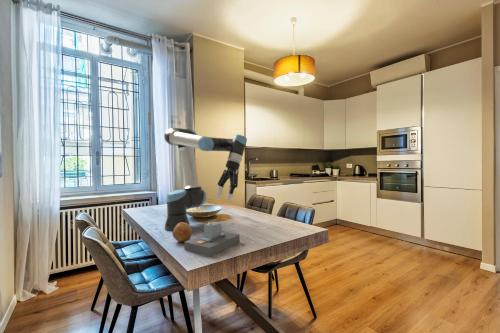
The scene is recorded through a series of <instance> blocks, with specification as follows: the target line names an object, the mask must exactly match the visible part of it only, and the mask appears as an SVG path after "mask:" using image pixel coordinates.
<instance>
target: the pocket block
mask: <svg viewBox="0 0 500 333" xmlns="http://www.w3.org/2000/svg"><path fill="white" fill-rule="evenodd" d="M221 233H225V236H222V238H221V239H219V240H216V241H214V242H208V243H207V242H205V241H201V240H200V239H201V238H203V237H204V234H202V235H199V236H196V237H194V238H190V239H189V240H188V241H184V242H183V243H184V251H187V252H191V253H194V254H197V255H202V256H203V257H204V256H205V257H209V258H211V257H213V256H215V255H217V254H219V253H221V252H222V251H225V250H227V249H229V248H231V247H233V246H235V245H237V244H239V243H241V242H240V241H241V240H240V239H241V237H240V234H239V233H234V232H227V231H223V230H221Z"/></svg>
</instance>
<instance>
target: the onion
mask: <svg viewBox="0 0 500 333" xmlns="http://www.w3.org/2000/svg"><path fill="white" fill-rule="evenodd" d="M192 235H193V228H192V226H191V225H189V224H187V223H184V222H181V223H178V224H177V225H176V226H175V228H174V230H173V231H172V236H173V238H174V239H175V240H176V241H177V242H179V243H184V242H185V241H188V240H191V237H192Z"/></svg>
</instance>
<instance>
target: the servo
mask: <svg viewBox="0 0 500 333" xmlns="http://www.w3.org/2000/svg"><path fill="white" fill-rule="evenodd" d="M221 231H222V222H219V221H218V222H217V221H210V222H207V223H205V224H203V235H204V237H203V238H201V239H200V240H201V241H205V242H207V243H208V242H214V241H216V240H219V239H221V238H222V236H225V233H221Z"/></svg>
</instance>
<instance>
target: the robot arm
mask: <svg viewBox="0 0 500 333" xmlns="http://www.w3.org/2000/svg"><path fill="white" fill-rule="evenodd" d="M163 136H164V141H165V142H166V143H167V144H169V145H170V146H177V148H178V151H180V153H181V154H180V155H181V162H182V169H183V175H184V182H185V186H184V188H183V189H175V190H172V191H169V192H167V194H166V208H167V209H166V212H167V215H166V216H167V217H166V220H165V224H164V230H165V231H170V232H173V230H174V228H175V226H176V225H177V224H178V223H181V222H184V223H187V224H189V225H190V224H191V223H190V221H189V218H188V217H189V216H188V214H187V210H190V209H193V208H194V209H195V208H199V207H202V206H203V205H204V204H205V202H206V200H207V193H206V192H205V190H204V189H203V188H202V186H201V185H200V184H199V178H198V171H197V164H196V157H195V151H194V150H195V149H199V150H200V151H204V152H229V154H228V156H227V160H226V163H225V167H226V169H224V170H223V172H222V174H221V176H220V177H219V180H218V182H217V185H218V187H217V191H216V194H215V198H217V199H221V196H222V194H223V190H224V187H225V184H226V182H228V180H229V187H228V190H227V194H226V197H225V200H227V201H232V197H233V194H234V191H235V189H236V188H238V183H239V182H238V181H239V169H240V166H241V161H242V160H243V159H242V158H243V156H244V152H245V149H246V146H247V140H248V138H247V137H246V136H244V135H242V134H236V135H234V137H233V138H224V137H223V138H222V137H210V136H204V135H198V133H197V132H196V131H195V130H193V129H189V128H181V127H170V128H169V129H167V130H166V131H165V133H164V135H163ZM190 226H191V225H190Z"/></svg>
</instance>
